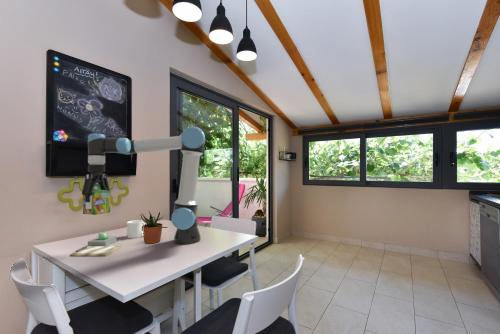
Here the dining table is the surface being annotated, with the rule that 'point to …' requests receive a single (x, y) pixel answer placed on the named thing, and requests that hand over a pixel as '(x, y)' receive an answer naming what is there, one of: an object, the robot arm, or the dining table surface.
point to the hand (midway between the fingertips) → (96, 206)
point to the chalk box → (98, 202)
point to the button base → (102, 241)
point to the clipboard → (95, 251)
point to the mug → (135, 229)
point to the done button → (102, 236)
